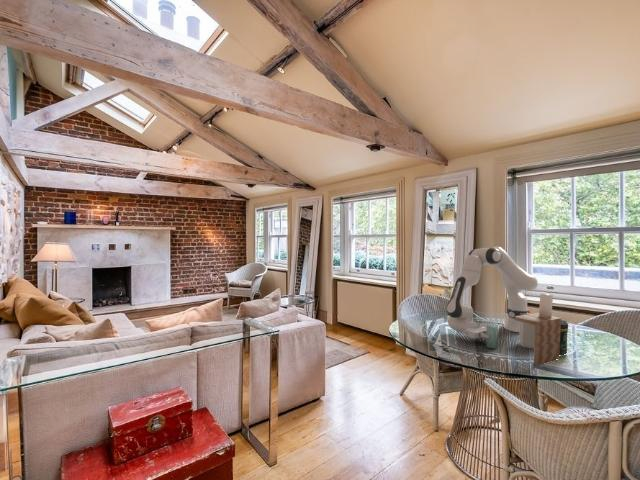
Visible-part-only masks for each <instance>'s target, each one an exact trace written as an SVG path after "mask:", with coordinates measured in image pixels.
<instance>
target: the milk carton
mask: <svg viewBox="0 0 640 480" xmlns="http://www.w3.org/2000/svg"><path fill="white" fill-rule="evenodd" d="M527 314H530V313H527ZM518 340H519V342H518V344H519V345H520V346H521V347H522V348H526V349H527V348H529V349H534V345H535V325H531V324H527V323H523V322H520V333H519V339H518Z"/></svg>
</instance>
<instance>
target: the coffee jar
mask: <svg viewBox="0 0 640 480" xmlns="http://www.w3.org/2000/svg"><path fill="white" fill-rule="evenodd" d="M568 331H569V323H568V322H567V321H566V320H562V319H561V329H560V352H559V355H564V354H566V353H567V354H568V333H569V332H568ZM567 354H566V355H567ZM564 356H565V355H564Z"/></svg>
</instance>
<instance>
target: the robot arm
mask: <svg viewBox="0 0 640 480" xmlns="http://www.w3.org/2000/svg"><path fill="white" fill-rule="evenodd" d="M487 265H488V266H489V265H493V266H494V267H495V269H496V270H497V271H498V272H499V273H500V274H501V275H500V283H501V284H502V285H503V287H504V289H505V290H506V294H507V309H506V314H505V319H504V323H503V325H502V327H504V329H505V330H507V331H510V332H515V333H519V334H520V321H516V320H514V319H515V316H520V315H526V314H527V313H529V314H532V311H531V310H530V309H528V298H527V296H526V295H525V294H524V293H523V291H525V292H533V291H535V290H536V289H537V287H538V285H539V282H538V279H537V277H535V276H533V275H531V274H530V273H528V272H526V271H525V270H524V269H522V268H521V267H520V266H519V265H518V264H517V263H516V262H515V261H514V260H513V258H511V256H510V255H509V254H508V253H507V252H506V251H505V250H504V249H503V248H502V247H501V246H493V247H481V248H474V249H471V250H470V251H469V253H468V255H467V256H466V257H465V258H464V262H463V265H462V268H461V273H460V275H459V277H458V278H457V279H456V281H455V284H454V286H453V290H452V293H451V296H450V298H449V301H448V302H447V304H446V306H445V311H446V313H447V315H448V316H449V317H448V319H447V324H448V326H449V327H450V328H451V329H452V330H453V331H456V332H458V333H461V334H462V333H463V334H464V335H465V336H466V337H468V338H471V339H479V338H490V335H489V334H487V325H488V324H485V323H484V322H482V321H481V322H480V321H474V320H473V318H474V315H475V310H474V307H473V306H471V305H470V304H466V303H462V298H463V295H464V292H465V290H466V289H468V287H472V286H475V285H477V284H478V283H479V280H480V278H481V274H482V266H487ZM472 320H473V321H472ZM498 336H499V333H498V332H497V337H498Z"/></svg>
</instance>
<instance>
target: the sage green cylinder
mask: <svg viewBox="0 0 640 480" xmlns="http://www.w3.org/2000/svg"><path fill="white" fill-rule="evenodd" d="M486 325H487V334H489V335H490V338H486V339H485V340H486V341H485V342H486V344H485V346H486V348H488V349H495V350H496V349H497V347H498V336H497V333H498V326H497V325H494V324H486Z"/></svg>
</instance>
